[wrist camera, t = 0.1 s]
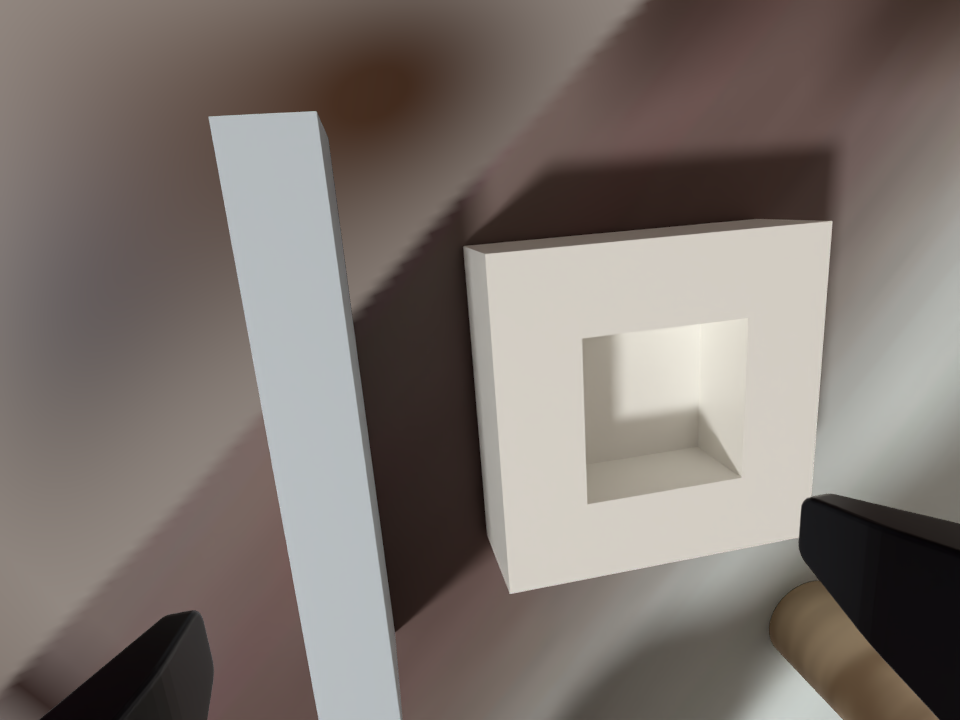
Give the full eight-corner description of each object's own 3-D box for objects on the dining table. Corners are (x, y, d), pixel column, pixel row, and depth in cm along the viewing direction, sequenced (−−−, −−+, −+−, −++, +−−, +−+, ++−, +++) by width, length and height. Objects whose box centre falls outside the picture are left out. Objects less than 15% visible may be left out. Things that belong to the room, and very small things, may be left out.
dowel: (843, 647, 31) (1028, 815, 22) (766, 664, 30) (928, 845, 22) (850, 573, 30) (1048, 720, 21) (771, 589, 29) (943, 749, 20)
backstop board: (394, 633, 25) (405, 755, 20) (335, 645, 25) (328, 774, 19) (328, 138, 20) (316, 111, 15) (251, 142, 20) (208, 116, 14)
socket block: (745, 489, 27) (808, 535, 23) (487, 535, 25) (510, 594, 21) (757, 218, 24) (832, 220, 20) (463, 245, 22) (484, 254, 18)
